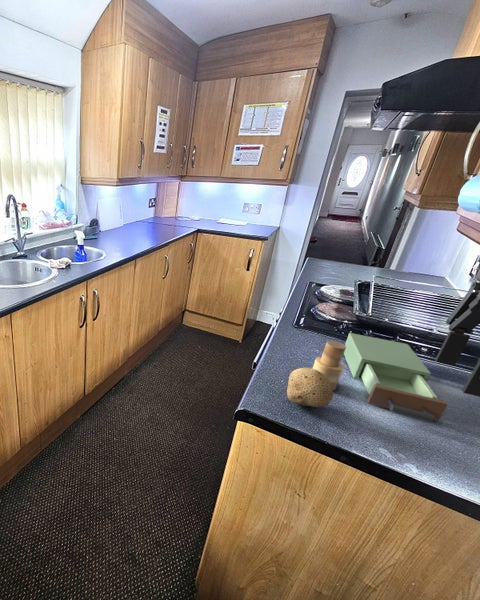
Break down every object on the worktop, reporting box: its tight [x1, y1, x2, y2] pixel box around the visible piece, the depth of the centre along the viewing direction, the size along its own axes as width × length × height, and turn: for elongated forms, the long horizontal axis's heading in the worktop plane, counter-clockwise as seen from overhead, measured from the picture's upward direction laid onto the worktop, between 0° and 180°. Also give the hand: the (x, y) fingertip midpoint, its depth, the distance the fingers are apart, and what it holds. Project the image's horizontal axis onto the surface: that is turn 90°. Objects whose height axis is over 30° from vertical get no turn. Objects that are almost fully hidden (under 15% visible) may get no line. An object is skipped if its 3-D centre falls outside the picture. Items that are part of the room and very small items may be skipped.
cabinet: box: [343, 332, 432, 383], centre depth 92 cm, size 17×14×7 cm
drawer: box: [360, 362, 449, 423], centre depth 80 cm, size 20×13×5 cm, turn 152°
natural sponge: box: [286, 367, 334, 408], centre depth 78 cm, size 9×9×10 cm
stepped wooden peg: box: [312, 340, 346, 392], centre depth 85 cm, size 6×6×12 cm
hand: (457, 377), depth 61 cm, fingers open, 11 cm apart
